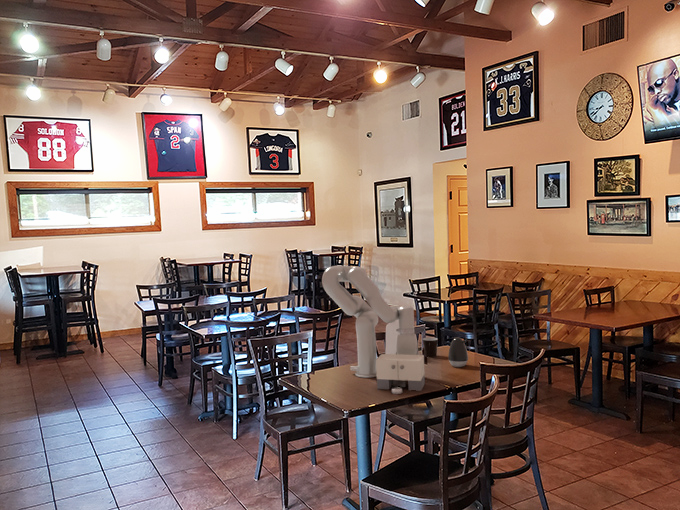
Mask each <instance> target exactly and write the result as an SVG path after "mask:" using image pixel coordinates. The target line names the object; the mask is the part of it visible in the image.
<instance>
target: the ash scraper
mask: <svg viewBox="0 0 680 510" xmlns="http://www.w3.org/2000/svg"><path fill="white" fill-rule="evenodd" d="M398 386H400V387H401V388H406V387H407V380H393V385H392V387H398Z"/></svg>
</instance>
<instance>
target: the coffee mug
mask: <svg viewBox="0 0 680 510" xmlns="http://www.w3.org/2000/svg"><path fill="white" fill-rule="evenodd" d="M438 342H439V339H438V338H437V337H424V338H422V343H423V351H424V358H425V357H426V358H429V359H430V358H436V357H437V354H438V353H437V352H438Z"/></svg>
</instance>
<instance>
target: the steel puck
mask: <svg viewBox="0 0 680 510" xmlns="http://www.w3.org/2000/svg"><path fill="white" fill-rule="evenodd" d="M403 392H404V391H403V387H398V386H392V387H391V394H393V395H401V393H402V394H403Z"/></svg>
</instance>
